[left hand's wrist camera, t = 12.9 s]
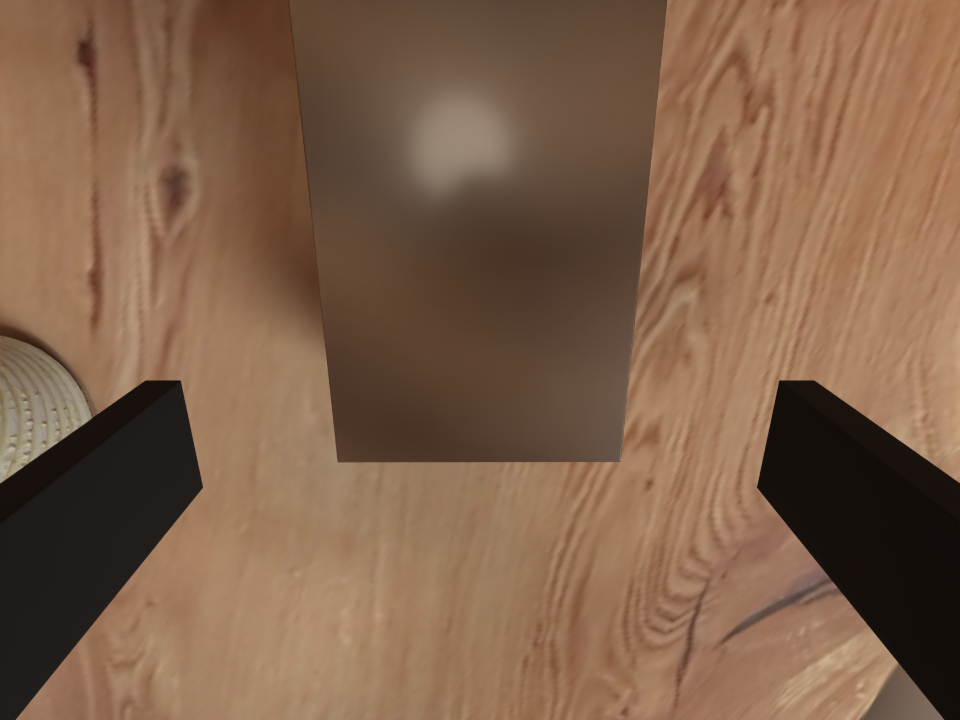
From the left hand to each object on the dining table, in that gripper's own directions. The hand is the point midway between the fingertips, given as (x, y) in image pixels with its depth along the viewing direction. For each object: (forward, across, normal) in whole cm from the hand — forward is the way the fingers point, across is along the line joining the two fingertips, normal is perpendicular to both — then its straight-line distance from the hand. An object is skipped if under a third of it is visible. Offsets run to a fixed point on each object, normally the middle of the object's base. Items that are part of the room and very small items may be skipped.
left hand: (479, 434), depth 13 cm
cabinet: (+15, 0, +5) cm, 16 cm away
